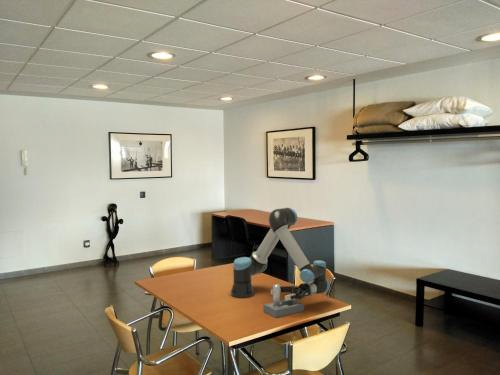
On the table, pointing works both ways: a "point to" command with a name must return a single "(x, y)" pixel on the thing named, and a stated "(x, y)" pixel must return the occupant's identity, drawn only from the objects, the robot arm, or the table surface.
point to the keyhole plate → (283, 308)
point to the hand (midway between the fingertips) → (277, 295)
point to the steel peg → (276, 294)
